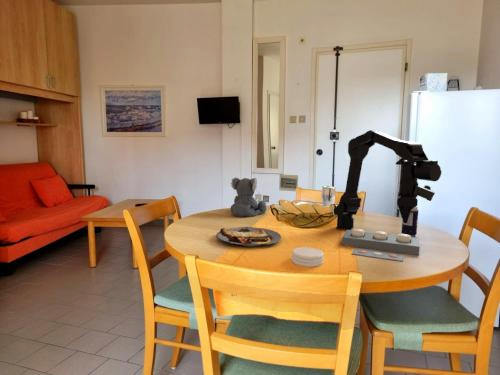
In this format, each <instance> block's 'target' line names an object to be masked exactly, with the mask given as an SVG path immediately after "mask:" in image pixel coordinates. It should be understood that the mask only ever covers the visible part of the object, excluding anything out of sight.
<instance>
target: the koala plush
mask: <svg viewBox="0 0 500 375" xmlns="http://www.w3.org/2000/svg"><path fill="white" fill-rule="evenodd" d="M230 184H231V185H230V186H231V188H232V189H233V190H235V191H236V194H237V195H236V196H234V200H233V201H234V203H232V204H231V205H230V209H229V210H230V211H231V213H232V215H233V216H235V217H237V218H238V217H240V218H241V217H248V218H249V217H250V218H251V217H256V216H260V215H263V214H265V213H266V212H267V203H266V201H265V200H260V201H258V202H257V200H256V198H254V197H253V196H254V194H255V191H256V189H257V187H258V186H257V184H258V178H256V177H253V178H250V179H249V178H247V177H244V178H241V179H240V178H238V177H234V178H231V182H230Z"/></svg>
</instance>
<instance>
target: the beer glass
mask: <svg viewBox="0 0 500 375" xmlns="http://www.w3.org/2000/svg"><path fill="white" fill-rule="evenodd" d="M321 187H322V188H321V195H320V196H321V198H320V199H321V205H323V206H329V205H330V204H334V205H335V201H336V186H330V185H323V186H321Z"/></svg>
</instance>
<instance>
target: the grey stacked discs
mask: <svg viewBox="0 0 500 375" xmlns="http://www.w3.org/2000/svg"><path fill="white" fill-rule="evenodd" d="M291 262H292V263H293V264H295V265H297V266H300V267H307V268H313V267H320V266H322V265H323V264H324V252H323V250H320V249H318V248H315V247H309V246H307V247H305V246H304V247H303V246H302V247H301V246H300V247H296V248H294V249H292V250H291Z"/></svg>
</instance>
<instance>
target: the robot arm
mask: <svg viewBox="0 0 500 375" xmlns="http://www.w3.org/2000/svg"><path fill="white" fill-rule="evenodd" d="M375 144H378V145H381V146H382V147H385V148H386V149H387V148H388V149H389V150H391V151H393V152H394V153H395V154H396V155H397V156H398V157H399V158H400V159H399V160H397V161H396V162H395V165H397V166H400V171H399V185H398V191H397V199H396V200H397V202H396V205H397V207H398V209H399V214H400V216H401V221H402V220H403V222H404V223H407V222H408V218H409V215H410V212H411V210H412V209H413V208H414V207H418V202H419V201H418V196H419V197H421V198H423V199H425V200H426V201H429V202H431V201H432V200H433V198H434V196H435V194H436V192H435V191H433V190H431V186H429V185H427V184H426V185H424V186H421V185H420V184H419V181H418V180H420V181H427V182H428V181H429V182H437V181H439V180H440V178H441V175H442V170H441V166H440V165H439V161H438V160H429V158H428V157H427V154H426V153H425V151H424V148H423V145H422V143H420V142H415V141H409V140H408V141H407V140H402V139H399V138H396V137H393V136H391V135H389V134H387V133H383V132H381V131H379V130H377V129H375V130H374V129H371V130H367V131H366V132H364V133H363V134H360V135H358V136H356V137H355V138H351V139H350V140H349V141H348V144H347V153H348V156H349V158H350V160H349V167H348V173H347V178H346V185H345V190H344V192H343V194H342V195H341V196H340V199H339V202H338V204H337V205H336V206H335V207H334V208H333V215H337V216H336V226H335V229H338V230H345V231H346V230H352V229H354V225H355V224H354V223H355V218H354V215H357V213H358V210H359V209H360V208H361V202H362V198H361V197H359V194H358V191H359V190H358V189H359V186H360V185H359V184H360V178H361V174H362V173H361V172H362V167H363V161H364V160H365V158H366V157H367V155H368V154H369V152H370V149H371V148H372V147H373V146H375Z"/></svg>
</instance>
